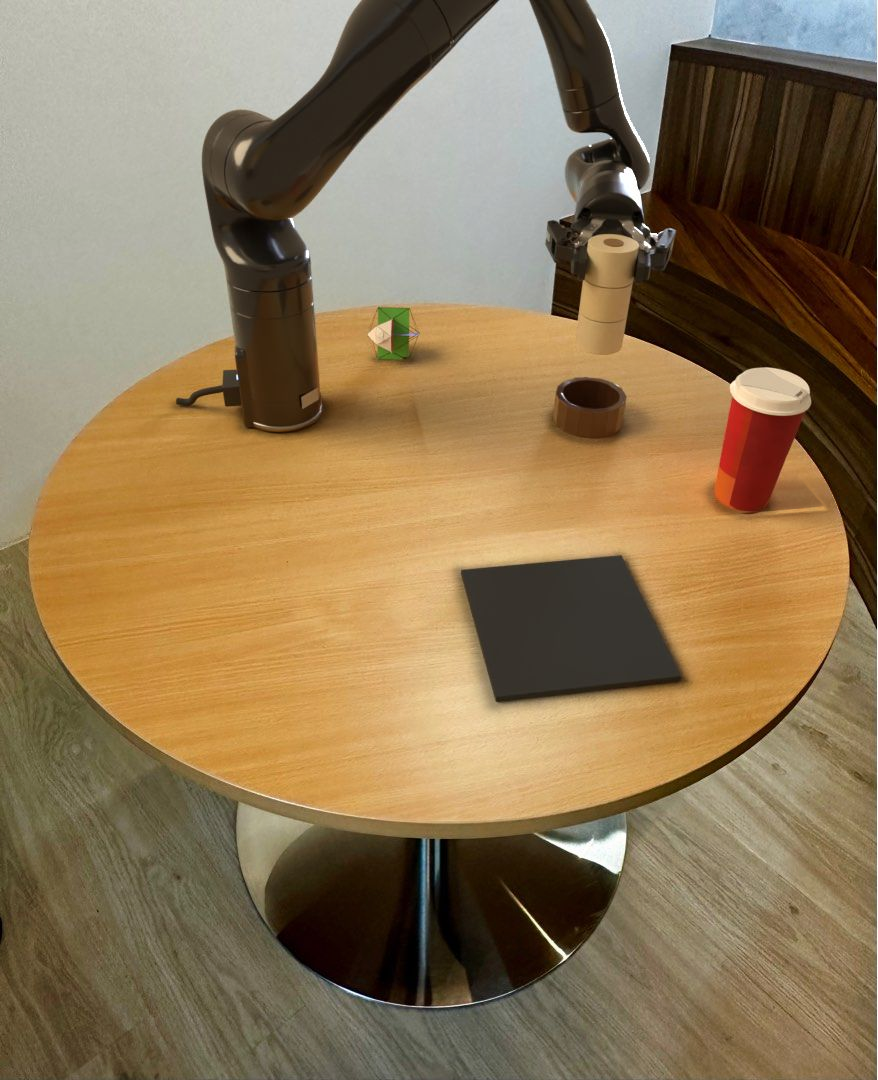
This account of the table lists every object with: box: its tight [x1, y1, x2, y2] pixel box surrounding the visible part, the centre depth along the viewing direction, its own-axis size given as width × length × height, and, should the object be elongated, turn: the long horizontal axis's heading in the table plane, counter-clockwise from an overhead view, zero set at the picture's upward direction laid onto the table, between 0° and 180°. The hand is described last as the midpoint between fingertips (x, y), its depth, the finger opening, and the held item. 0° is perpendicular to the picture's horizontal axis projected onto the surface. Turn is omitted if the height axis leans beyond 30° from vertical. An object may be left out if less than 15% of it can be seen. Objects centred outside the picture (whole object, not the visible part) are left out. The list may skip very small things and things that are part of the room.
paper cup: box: [714, 366, 812, 515], centre depth 91 cm, size 8×8×14 cm
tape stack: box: [574, 234, 639, 356], centre depth 91 cm, size 5×5×11 cm
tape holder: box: [552, 376, 628, 439], centre depth 105 cm, size 8×8×4 cm
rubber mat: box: [460, 554, 683, 702], centre depth 79 cm, size 16×16×1 cm
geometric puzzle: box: [365, 306, 421, 361], centre depth 117 cm, size 7×7×8 cm
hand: (611, 272), depth 87 cm, fingers closed on tape stack, 5 cm apart
